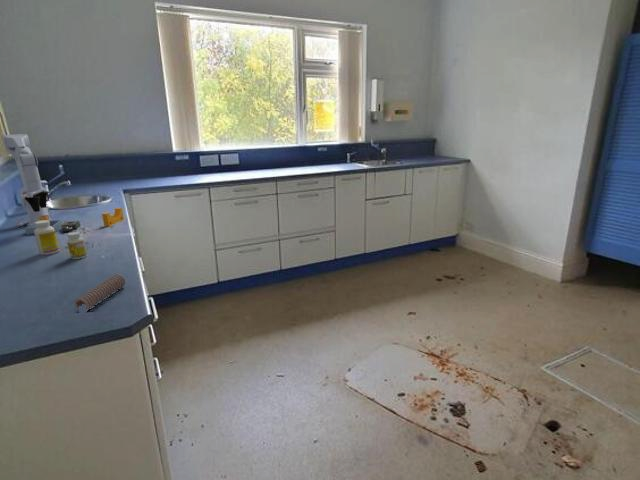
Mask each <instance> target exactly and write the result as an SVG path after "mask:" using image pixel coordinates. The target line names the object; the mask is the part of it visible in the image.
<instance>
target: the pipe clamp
mask: <svg viewBox="0 0 640 480" xmlns="http://www.w3.org/2000/svg"><path fill="white" fill-rule="evenodd" d="M101 217H102V222H103V226H104V227H111V226H113V224H114V225H115V223H116V224H117V222H118V223H120V222H122V221H124V220H125V218H124V213H123V208H122V207H115V208H114V214H110V212H103V213H101Z"/></svg>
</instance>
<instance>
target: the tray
mask: <svg viewBox="0 0 640 480" xmlns="http://www.w3.org/2000/svg"><path fill="white" fill-rule="evenodd" d="M63 223H64V222H63V220H62V219H57V220H56V219H55V220H50V226H51V227H53V228H54V230H55V233H56V232H57V231H58V230H60V229H62V227H61V225H62V224H63ZM36 228H37V227H36V226H35V222H34V223H33V224H31V225H27V227H25V228H24V231H25V234H26V235H27V236H28V235H35V234H34V230H35V229H36Z"/></svg>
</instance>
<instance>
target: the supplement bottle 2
mask: <svg viewBox="0 0 640 480" xmlns="http://www.w3.org/2000/svg"><path fill="white" fill-rule="evenodd" d="M67 238H68V239H67V240H66V241H67V242H66V243H67V247H68V251H69V255H70V258H71V259H72V260H80V258H81V259H85V258H86V257H88V252H87V248H86V244H85V240H84V238H83V237H82V236H81V233H80V231H72V232H68V234H67Z"/></svg>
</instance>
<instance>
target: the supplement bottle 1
mask: <svg viewBox="0 0 640 480" xmlns="http://www.w3.org/2000/svg"><path fill="white" fill-rule="evenodd" d="M35 226H36V227H37V228H36V229H35V230H34V234H33V235H34V237H35V241H36V244H37V249H38V252H39V254H40V255H43V256H49V255H54V254H57V253H58V252H60V246H59V242H58V238H57V234H56V232H55V230H54V228H53V227H51V226H50V222H49V220H42V221H37V222H35Z"/></svg>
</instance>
